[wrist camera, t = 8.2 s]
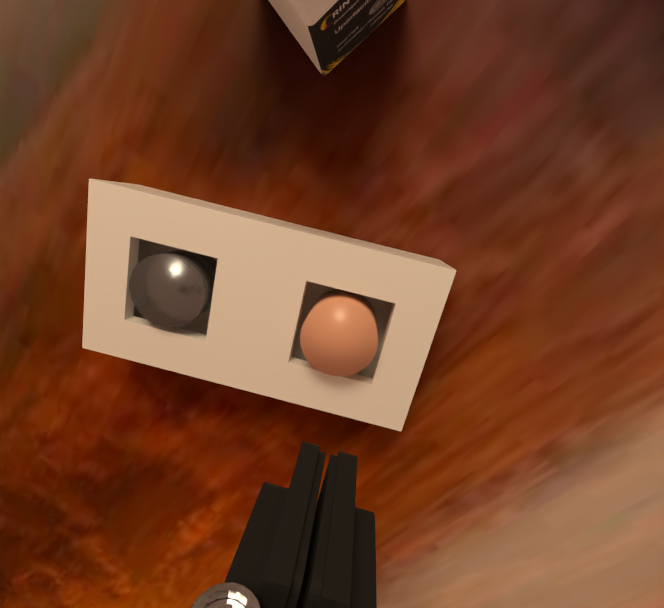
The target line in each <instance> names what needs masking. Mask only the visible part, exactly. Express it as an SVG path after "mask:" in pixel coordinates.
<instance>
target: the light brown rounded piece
mask: <svg viewBox="0 0 664 608" xmlns="http://www.w3.org/2000/svg"><path fill="white" fill-rule="evenodd" d="M300 344H301V348H302V351H303V354H304V356H305V357H306V359H307V360H308V361H309V363H310V364H311V365H312V366H313V367H315V368H316V369H317V370H319V371H321V372H323V373H325V374H328V375H332V376H348V375H352V374H355V373H357V372H359V371H361V370H363V369H364V368H365V367H366V366H367V365H368V364H369V363H370V362H371V361H372V359H373V358H374V356H375V353H376V351H377V347H378V334H377V325H376V316H375V312H374V309H373V307H372V305H371V304H370V303H369V301H368V300H367V299H366V298H365V297H364V296H362V295H360V294H356V293H352V292H348V291H344V290H340V289H336V290H332V291H329V292H327V293H325V294H324V295H322V296H321V297H320V298H319V299H318V300H317V301H316V302H315V304H314V305H313V307H312V309H311V311H310V312H309V314H308V316H307V318H306V320H305V322H304V324H303V326H302V329H301V333H300Z"/></svg>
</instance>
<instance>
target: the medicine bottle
mask: <svg viewBox="0 0 664 608" xmlns="http://www.w3.org/2000/svg"><path fill="white" fill-rule="evenodd" d="M268 1H269V2H270V4H271V5H272V6H273V8H274V9H275V11H276V12H277V13H278V15H279V16H280V17H281V19H282V20H283V22H284V23H285V24H286V26H287V27H288V29H289V30H290V31H291V33H292V34H293V36H294V37H295V38H296V40H297V41H298V43H299V44H300V45H301V47H302V48H303V50H304V51H305V52H306V54H307V55H308V57H309V58H310V59H311V61H312V62H313V64H314V65H315V66H316V68H317V69H318V71H319V72H320V73H321V74H322V75H327V74H328V73H329V72H330V71H331V70H332V69H333V68H334V67H335V66H337V65H338V64H339V63H340V62H341V61H342V60H343V59H344V58H345V57H346V56H347V55H348V54H349V53H350V52H351V51H352V50H353V49H355V48H356V47H357V46H358V45H359V44H360V43H361V42H362V41H363V40H364V39H365V38H366V37H367V36H368V35H369V34H370V33H371V32H372V31H374V30H375V29H376V28H377V27H378V26H379V25H380V24H381V23H382V22H383V21H384V20H385V19H386V18H387V17H388V16H389V15H390V14H392V13H393V12H394V11H395V10H396V9H397V8H398V7H399V6H400V5H401V4H402V3H403V2H404V1H405V0H268Z"/></svg>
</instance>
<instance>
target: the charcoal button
mask: <svg viewBox="0 0 664 608" xmlns="http://www.w3.org/2000/svg"><path fill="white" fill-rule="evenodd" d="M216 267H217V261H216V260H215V259H214V258H213V257H210V256H206V255H202V254H198V253H194V252H190V251H186V250H183V249H181V250H176V251H171V252H166V253H161V254H157V255H152V256H149V257H146V258H144V259H143V260H141V261H140V262H139V263H138V264H137V265H136V266H135V268H134V269H133V271H132V274H131V277H130V282H129V289H130V295H131V298H132V301H133V303H134V305H135V307H136V308H137V310H138V311H139V312H140V313H141V314H142V315H143V316H144V317H145V318H146V319H147V320H149V321H150V322H152V323H154V324H156V325H159V326H162V327H169V328H172V327H179V326H182V325H185V324H186V323H188V322H190V321H191V320H193V319H195V318H196V317H198V316H199V315H201V314H203V313H204V312H206V311H207V310H209V309H210V308H211V301H212V294H213V287H214V281H215V274H216Z"/></svg>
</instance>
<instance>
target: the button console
mask: <svg viewBox="0 0 664 608" xmlns="http://www.w3.org/2000/svg"><path fill="white" fill-rule="evenodd" d="M181 249H183V250H186V251H190V252H194V253H198V254H202V255H206V256H210V257H213V258H214V259H215V260H216V261H217V267H216V274H215V281H214V287H213V294H212V301H211V308H210V309H209V310H207V311H206V312H204V313H203V314H201V315H199V316H198V317H196V318H195V319H193V320H191V321H190V322H188V323H186V324H185V325H182V326H179V327H172V328H169V327H162V326H159V325H156V324H154V323H152V322H150V321H149V320H147V319H146V318H145V317H144V316H143V315H142V314H141V313H140V312H139V311H138V310H137V308H136V307H135V305H134V303H133V301H132V298H131V295H130V289H129V282H130V277H131V274H132V271H133V269H134V268H135V266H136V265H137V264H138V263H139V262H140V261H141V260H143V259H144V258H146V257H149V256H152V255H157V254H161V253H166V252H171V251H176V250H181ZM455 273H456V270H455V269H453V268H452V267H450V266H449V265H447V264H445V263H444V262H442V261H441V260H439V259H435V258H431V257H427V256H423V255H419V254H415V253H411V252H407V251H403V250H398V249H394V248H390V247H386V246H382V245H378V244H374V243H370V242H366V241H362V240H358V239H354V238H350V237H346V236H342V235H338V234H334V233H330V232H326V231H322V230H318V229H314V228H310V227H306V226H302V225H298V224H294V223H290V222H286V221H282V220H278V219H274V218H270V217H266V216H262V215H258V214H254V213H250V212H246V211H242V210H238V209H234V208H230V207H226V206H222V205H218V204H214V203H210V202H206V201H202V200H198V199H194V198H190V197H186V196H182V195H178V194H174V193H170V192H166V191H162V190H158V189H154V188H150V187H146V186H142V185H138V184H130V183H122V182H113V181H105V180H97V179H89V192H88V217H87V243H86V268H85V294H84V320H83V345H82V348H86V349H89V350H93V351H97V352H101V353H105V354H108V355H112V356H116V357H120V358H124V359H127V360H131V361H135V362H139V363H143V364H146V365H150V366H154V367H158V368H162V369H165V370H169V371H173V372H177V373H181V374H184V375H188V376H192V377H196V378H200V379H203V380H207V381H211V382H215V383H219V384H222V385H226V386H230V387H234V388H238V389H241V390H245V391H249V392H253V393H257V394H260V395H264V396H268V397H272V398H276V399H279V400H283V401H287V402H291V403H295V404H298V405H302V406H306V407H310V408H314V409H317V410H321V411H325V412H329V413H333V414H336V415H340V416H344V417H348V418H352V419H355V420H359V421H363V422H367V423H371V424H374V425H378V426H382V427H386V428H390V429H393V430H397V431H402V428H403V425H404V422H405V419H406V416H407V413H408V410H409V408H410V405H411V402H412V399H413V396H414V393H415V390H416V387H417V384H418V381H419V378H420V375H421V373H422V370H423V367H424V364H425V361H426V358H427V355H428V352H429V349H430V346H431V343H432V340H433V338H434V335H435V332H436V329H437V326H438V323H439V320H440V317H441V314H442V311H443V308H444V305H445V302H446V300H447V297H448V294H449V291H450V288H451V285H452V282H453V279H454V276H455ZM336 289H340V290H344V291H348V292H352V293H356V294H360V295H362V296H364V297H365V298H366V299H367V300H368V301H369V303H370V304H371V305H372V307H373V309H374V312H375V316H376V325H377V334H378V347H377V351H376V353H375V356H374V358H373V359H372V361H371V362H370V363H369V364H368V365H367V366H366V367H365V368H364V369H363V370H361V371H359V372H357V373H355V374H352V375H348V376H332V375H328V374H325V373H323V372H321V371H319V370H317V369H316V368H315V367H313V366H312V365H311V364H310V363H309V361H308V360H307V359H306V357H305V356H304V354H303V351H302V348H301V344H300V333H301V329H302V326H303V324H304V322H305V320H306V318H307V316H308V314H309V312H310V311H311V309H312V307H313V305H314V304H315V302H316V301H317V300H318V299H319V298H320V297H321V296H322V295H324V294H325V293H327V292H329V291H332V290H336Z"/></svg>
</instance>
